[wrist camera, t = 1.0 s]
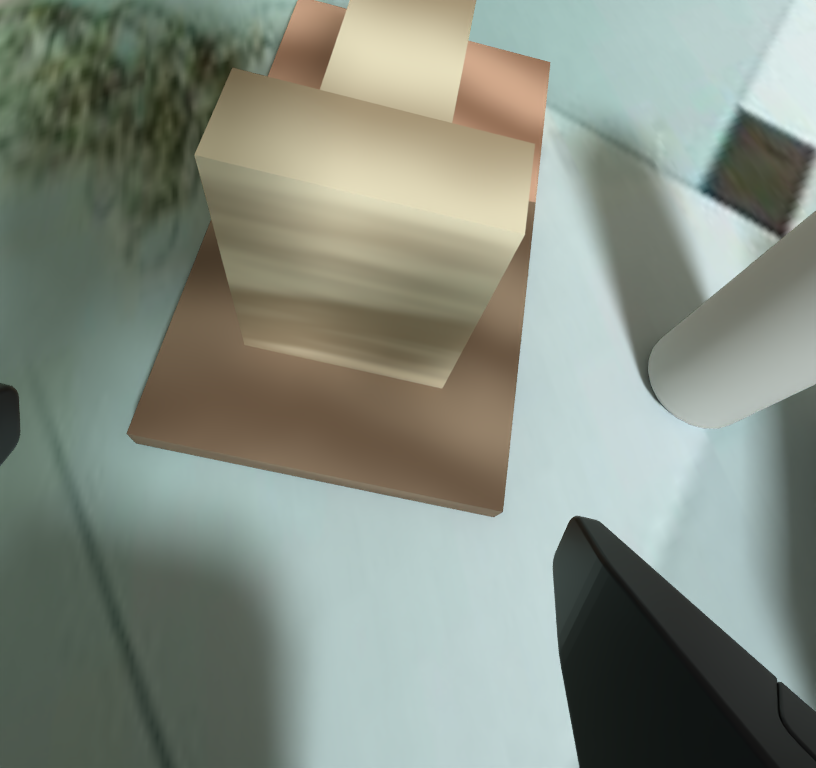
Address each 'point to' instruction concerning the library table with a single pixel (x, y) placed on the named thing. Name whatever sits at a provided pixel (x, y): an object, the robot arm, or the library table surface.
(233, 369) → the board
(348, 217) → the T block
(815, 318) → the beverage can
